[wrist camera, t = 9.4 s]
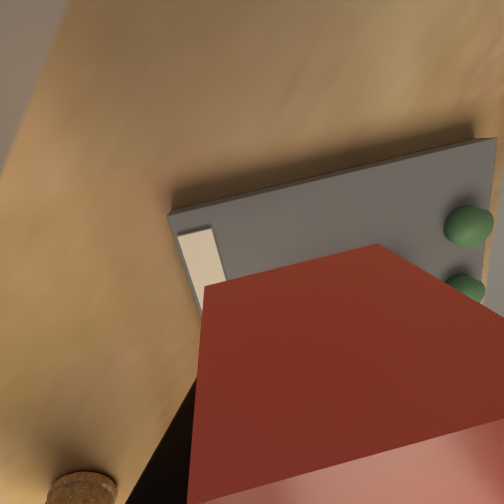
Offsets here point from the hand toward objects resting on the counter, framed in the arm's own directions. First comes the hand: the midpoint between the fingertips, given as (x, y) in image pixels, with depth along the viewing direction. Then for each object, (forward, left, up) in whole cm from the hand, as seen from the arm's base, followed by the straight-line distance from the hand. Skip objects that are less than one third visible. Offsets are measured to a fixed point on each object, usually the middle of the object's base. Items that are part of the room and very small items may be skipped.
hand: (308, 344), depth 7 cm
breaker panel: (-7, -4, -8) cm, 12 cm away
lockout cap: (0, 0, 0) cm, 0 cm away
